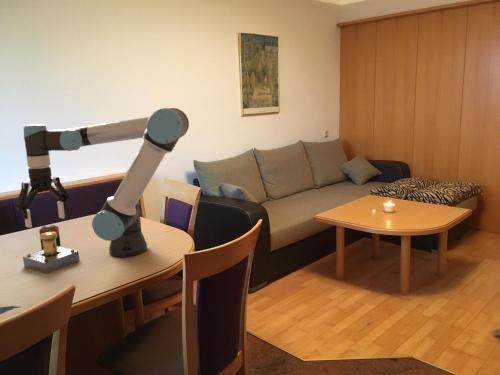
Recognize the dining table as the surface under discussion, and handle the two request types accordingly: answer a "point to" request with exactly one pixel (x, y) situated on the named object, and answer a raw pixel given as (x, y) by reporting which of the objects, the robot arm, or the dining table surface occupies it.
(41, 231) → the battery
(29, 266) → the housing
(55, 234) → the knob
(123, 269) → the dining table surface
